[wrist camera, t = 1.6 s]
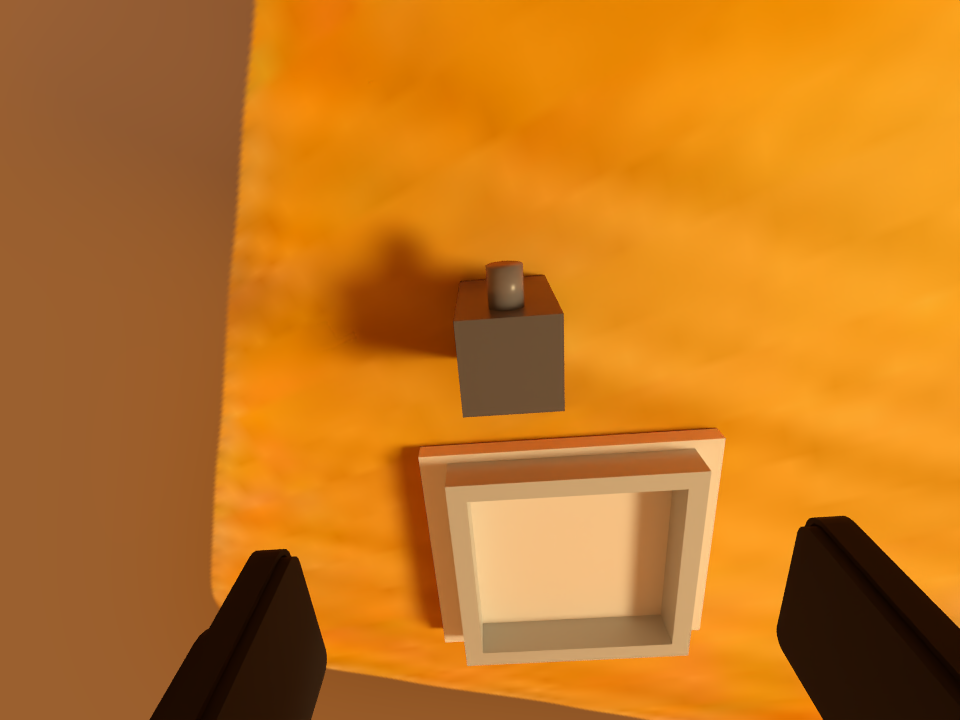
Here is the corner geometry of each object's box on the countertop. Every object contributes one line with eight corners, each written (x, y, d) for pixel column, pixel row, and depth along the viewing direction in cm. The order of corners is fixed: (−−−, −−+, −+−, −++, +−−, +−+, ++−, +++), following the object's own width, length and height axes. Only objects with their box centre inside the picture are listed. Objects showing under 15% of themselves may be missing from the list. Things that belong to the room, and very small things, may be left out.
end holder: (420, 446, 27) (413, 480, 24) (717, 428, 27) (744, 460, 24) (446, 628, 33) (443, 672, 30) (693, 615, 32) (712, 659, 29)
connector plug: (456, 247, 23) (448, 278, 17) (543, 240, 23) (563, 269, 17) (467, 358, 25) (463, 417, 20) (546, 353, 25) (564, 410, 20)
